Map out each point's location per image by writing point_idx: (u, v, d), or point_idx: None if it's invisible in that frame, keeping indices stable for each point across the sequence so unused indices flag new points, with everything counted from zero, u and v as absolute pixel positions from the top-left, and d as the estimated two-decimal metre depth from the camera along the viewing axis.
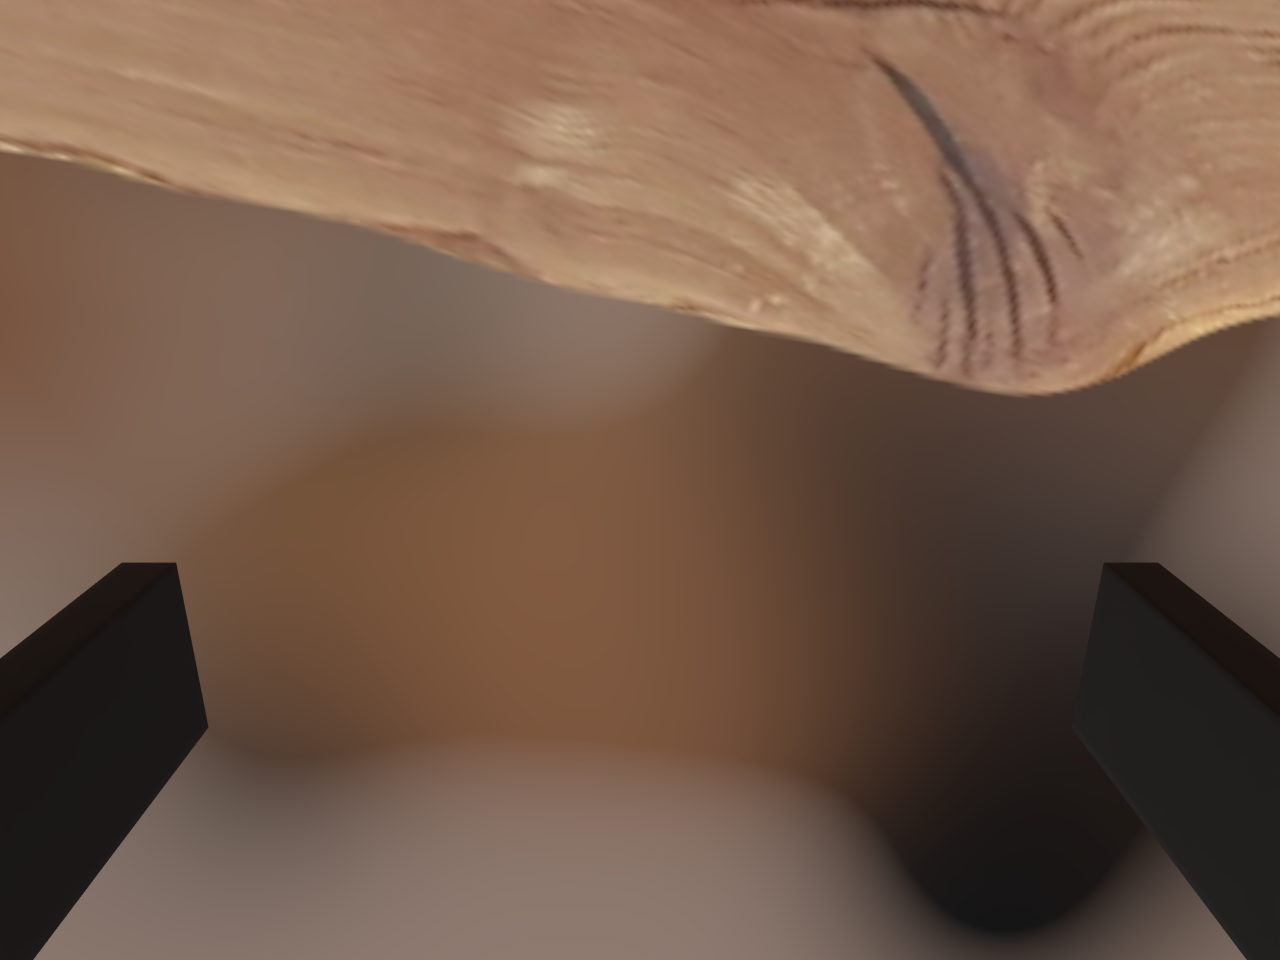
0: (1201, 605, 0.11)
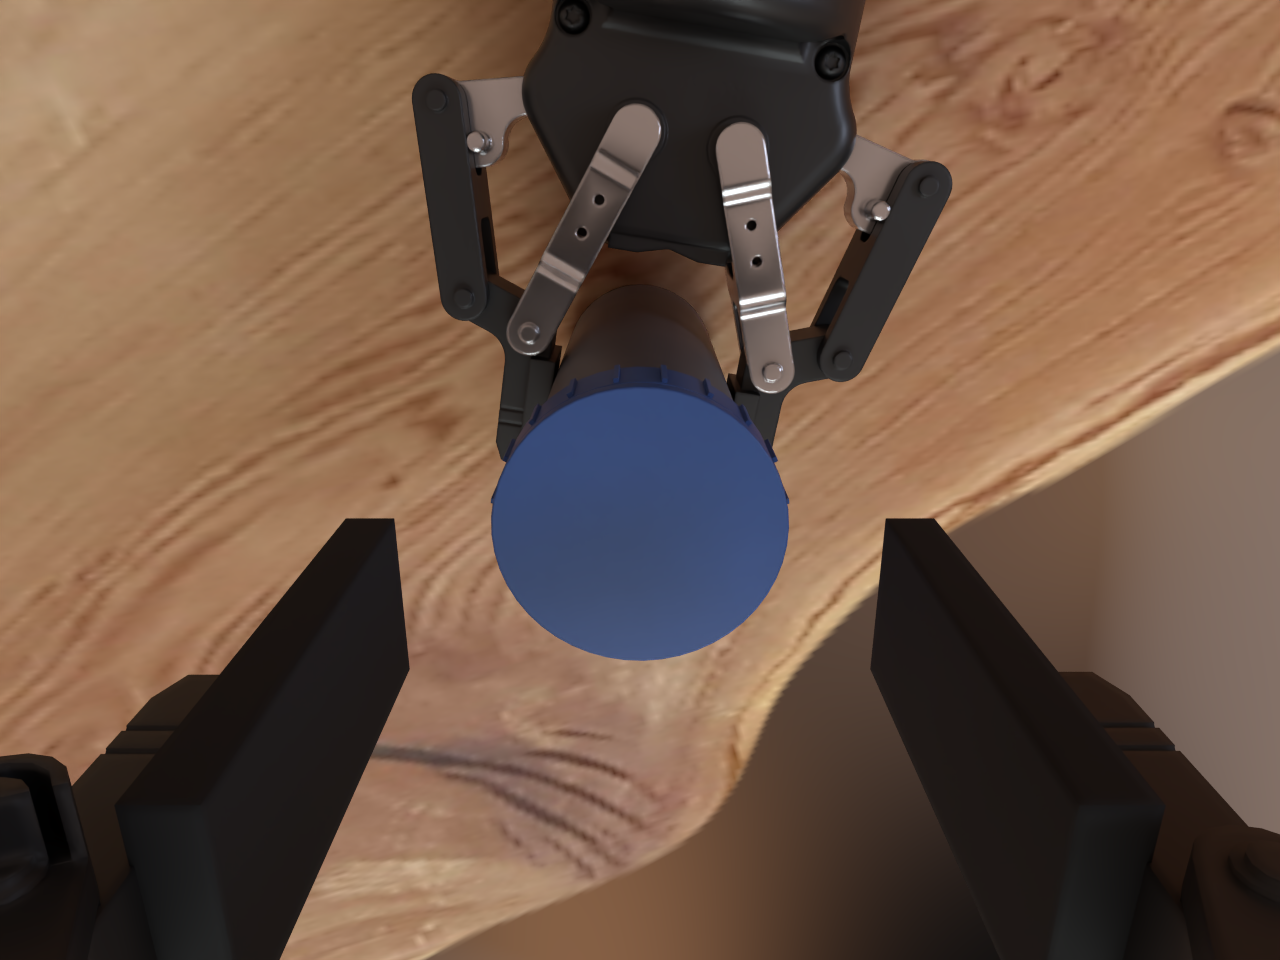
0: (952, 552, 0.13)
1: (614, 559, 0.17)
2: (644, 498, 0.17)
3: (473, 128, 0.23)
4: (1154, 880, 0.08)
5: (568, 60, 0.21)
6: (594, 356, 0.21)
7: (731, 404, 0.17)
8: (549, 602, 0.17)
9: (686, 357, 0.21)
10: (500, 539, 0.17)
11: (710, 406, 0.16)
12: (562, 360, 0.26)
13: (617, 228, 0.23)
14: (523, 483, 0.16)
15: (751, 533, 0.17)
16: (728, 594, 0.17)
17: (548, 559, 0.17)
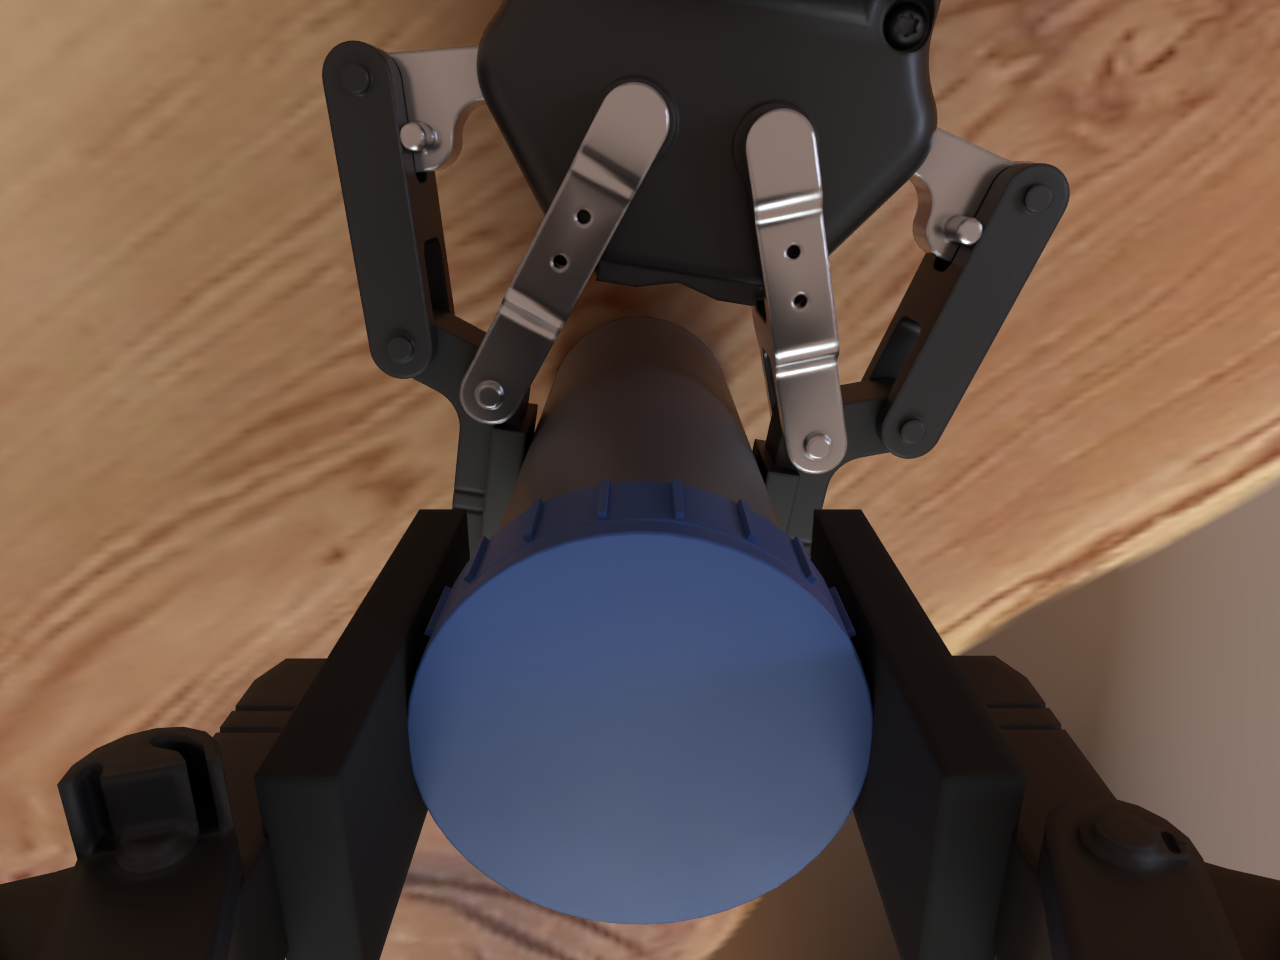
0: (872, 541, 0.13)
1: (600, 785, 0.11)
2: (647, 698, 0.10)
3: (411, 118, 0.16)
4: (1018, 849, 0.08)
5: (539, 22, 0.15)
6: (575, 439, 0.15)
7: (782, 543, 0.11)
8: (500, 845, 0.11)
9: (705, 441, 0.15)
10: (421, 757, 0.11)
11: (754, 562, 0.10)
12: (538, 423, 0.20)
13: (609, 255, 0.17)
14: (455, 676, 0.10)
15: (815, 748, 0.11)
16: (776, 833, 0.11)
17: (497, 785, 0.11)
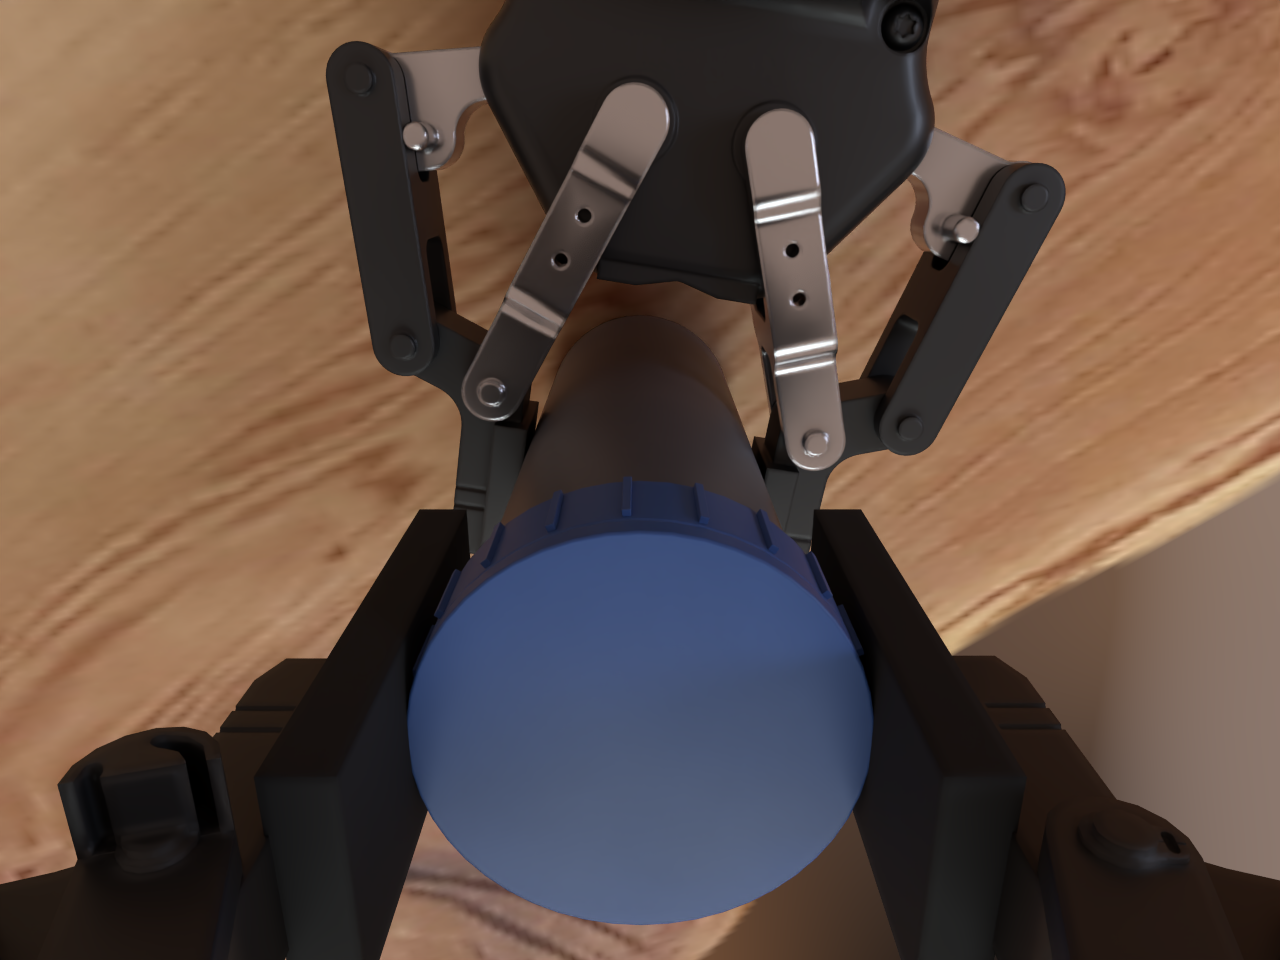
0: (872, 541, 0.13)
1: (667, 792, 0.11)
2: (590, 722, 0.11)
3: (414, 118, 0.17)
4: (1017, 849, 0.08)
5: (541, 23, 0.15)
6: (576, 435, 0.15)
7: (532, 521, 0.11)
8: (691, 890, 0.11)
9: (705, 437, 0.15)
10: (568, 907, 0.11)
11: (483, 587, 0.10)
12: (539, 420, 0.20)
13: (609, 253, 0.17)
14: (500, 851, 0.11)
15: (717, 604, 0.10)
16: (802, 671, 0.10)
17: (626, 866, 0.11)
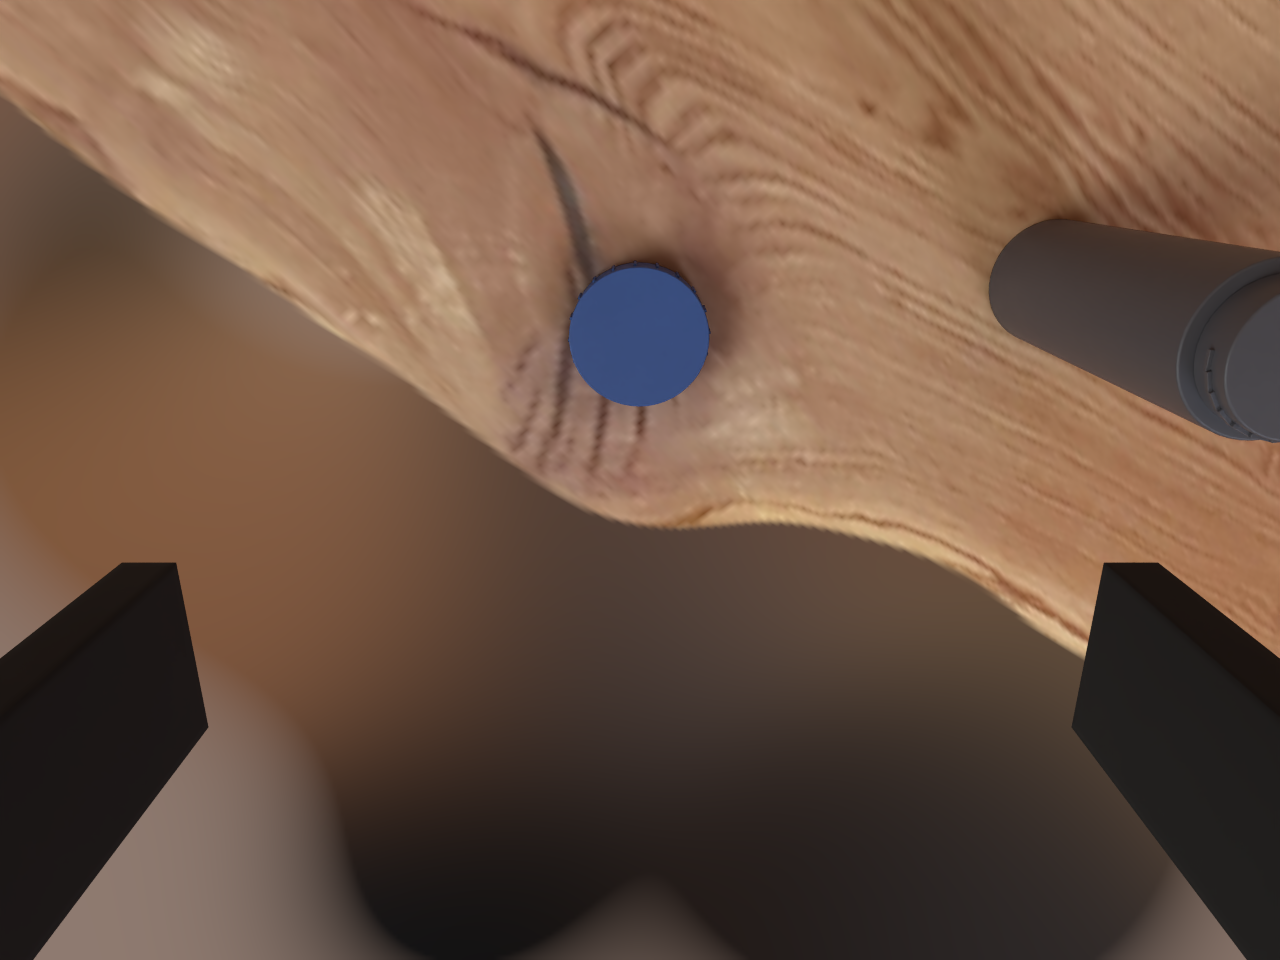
0: (1201, 605, 0.11)
1: (647, 355, 0.36)
2: (624, 330, 0.36)
3: None
4: None
5: None
6: None
7: (606, 272, 0.36)
8: (655, 392, 0.36)
9: None
10: (616, 398, 0.36)
11: (594, 284, 0.35)
12: (1132, 229, 0.31)
13: None
14: (596, 377, 0.36)
15: (661, 290, 0.35)
16: (686, 312, 0.35)
17: (634, 383, 0.36)
